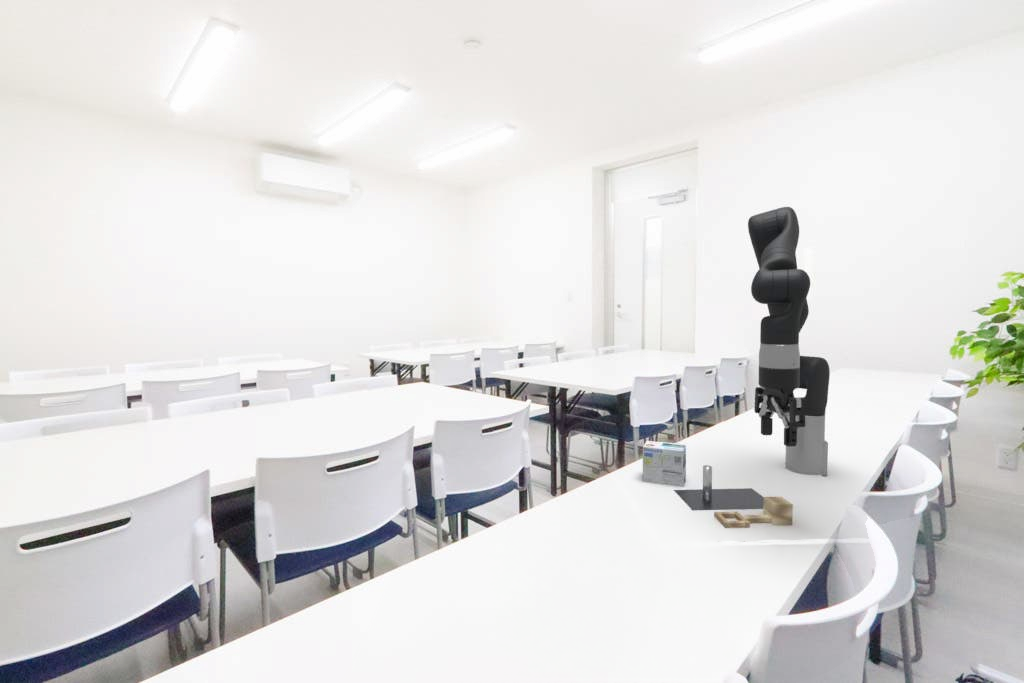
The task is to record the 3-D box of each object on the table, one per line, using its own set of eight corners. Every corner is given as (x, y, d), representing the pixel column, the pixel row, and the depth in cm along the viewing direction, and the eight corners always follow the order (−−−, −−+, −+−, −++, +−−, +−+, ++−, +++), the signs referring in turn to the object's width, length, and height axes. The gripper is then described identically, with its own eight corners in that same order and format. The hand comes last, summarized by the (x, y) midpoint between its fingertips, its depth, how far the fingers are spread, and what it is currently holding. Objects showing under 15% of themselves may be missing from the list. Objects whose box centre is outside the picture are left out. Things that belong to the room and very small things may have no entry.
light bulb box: (686, 482, 126) (686, 443, 125) (684, 491, 120) (684, 450, 119) (645, 477, 130) (646, 439, 130) (641, 485, 124) (642, 445, 123)
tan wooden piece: (779, 517, 103) (779, 495, 102) (794, 528, 97) (794, 505, 97) (714, 518, 103) (714, 496, 102) (725, 530, 97) (725, 506, 97)
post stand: (751, 492, 118) (752, 457, 118) (779, 512, 106) (779, 474, 106) (673, 493, 118) (673, 459, 117) (692, 514, 106) (692, 476, 105)
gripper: (819, 368, 91) (817, 449, 92) (776, 360, 105) (775, 430, 106) (781, 369, 90) (780, 450, 92) (743, 361, 105) (743, 431, 106)
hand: (777, 440), depth 99 cm, fingers open, 8 cm apart
